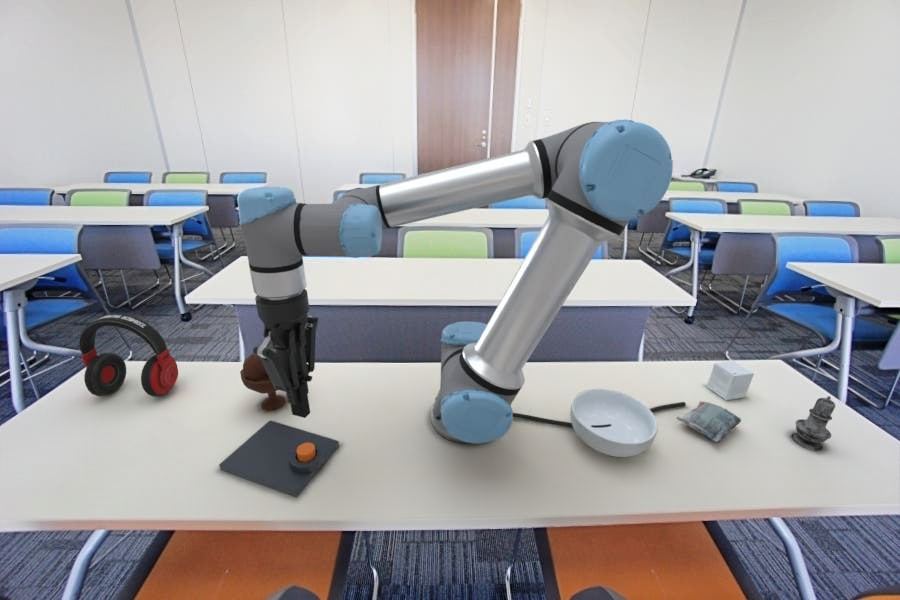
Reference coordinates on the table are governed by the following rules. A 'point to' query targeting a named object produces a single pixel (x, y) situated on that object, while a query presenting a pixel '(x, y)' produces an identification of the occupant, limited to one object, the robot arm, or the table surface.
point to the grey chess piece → (815, 425)
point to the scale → (279, 458)
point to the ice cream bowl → (261, 383)
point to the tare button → (306, 452)
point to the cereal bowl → (613, 422)
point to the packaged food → (710, 420)
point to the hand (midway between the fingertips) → (301, 413)
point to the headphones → (111, 369)
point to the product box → (730, 380)
